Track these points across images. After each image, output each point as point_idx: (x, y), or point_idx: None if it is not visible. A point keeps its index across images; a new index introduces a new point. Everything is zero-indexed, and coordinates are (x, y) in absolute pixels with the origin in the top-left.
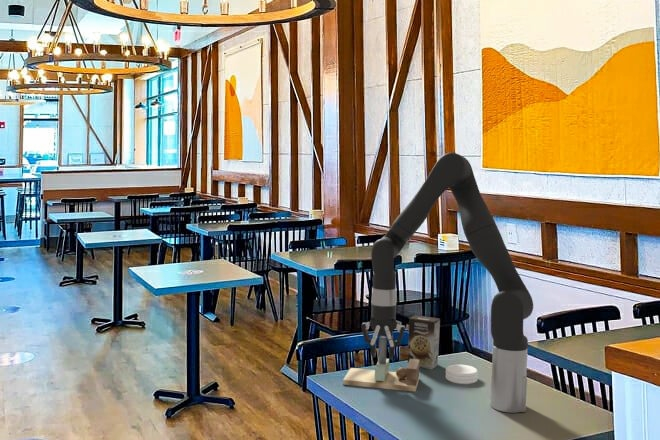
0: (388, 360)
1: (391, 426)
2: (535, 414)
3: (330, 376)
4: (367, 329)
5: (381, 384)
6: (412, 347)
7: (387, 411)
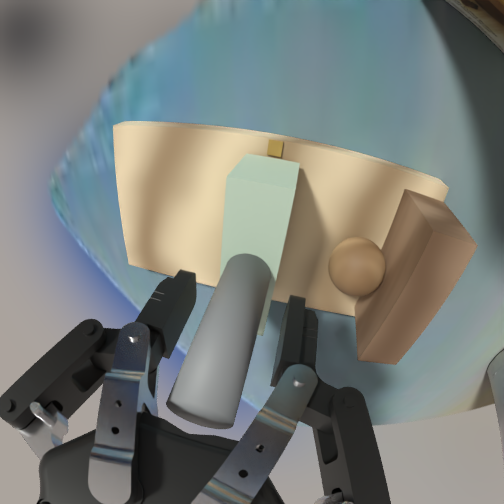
0: (288, 222)
1: None
2: None
3: (83, 184)
4: (65, 419)
5: None
6: None
7: None
